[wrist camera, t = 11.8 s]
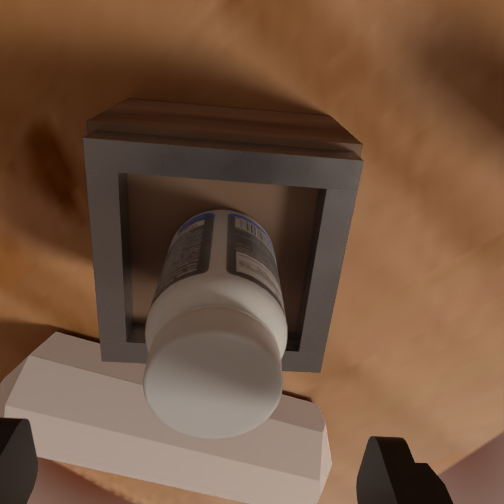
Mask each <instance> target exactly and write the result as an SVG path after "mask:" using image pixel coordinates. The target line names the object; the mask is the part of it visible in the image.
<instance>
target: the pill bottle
mask: <svg viewBox="0 0 504 504" xmlns="http://www.w3.org/2000/svg"><path fill="white" fill-rule="evenodd" d="M145 339H146V345H147V349H148V352H149V355H148V359H147V363H146V367H145V371H144V377H143V390H144V395H145V399H146V401H147V404H148V405H149V407H150V409H151V410H152V412H153V413H154V414H155V415H156V417H158V418H159V419H160V420H161V421H162V422H163V423H164V424H165V425H167V426H169V427H171V428H172V429H174V430H176V431H178V432H181V433H184V434H187V435H190V436H194V437H199V438H207V439H218V438H227V437H232V436H236V435H239V434H242V433H245V432H248V431H250V430H252V429H254V428H256V427H257V426H259V425H260V424H262V423H263V422H264V421H266V420H267V419H268V418H269V417H270V415H271V414H272V413H273V411H274V410H275V409H276V407H277V405H278V403H279V401H280V398H281V395H282V389H283V377H282V366H281V359H282V357H283V355H284V352H285V348H286V344H287V320H286V316H285V310H284V304H283V298H282V293H281V287H280V281H279V275H278V270H277V264H276V258H275V253H274V249H273V245H272V242H271V240H270V238H269V236H268V234H267V233H266V231H265V230H264V229H263V228H262V226H261V225H260V224H258V223H257V222H256V221H255V220H254V219H252V218H250V217H249V216H247V215H244V214H242V213H239V212H235V211H230V210H212V211H206V212H203V213H200V214H198V215H195V216H193V217H192V218H190V219H189V220H188V221H186V222H185V223H184V224H183V225H182V226H181V227H180V228H179V230H178V231H177V232H176V234H175V236H174V238H173V240H172V242H171V245H170V248H169V251H168V254H167V257H166V260H165V263H164V266H163V269H162V273H161V276H160V279H159V282H158V286H157V288H156V292H155V295H154V298H153V300H152V303H151V307H150V309H149V313H148V316H147V321H146V328H145Z"/></svg>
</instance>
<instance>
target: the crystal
mask: <svg viewBox="0 0 504 504" xmlns="http://www.w3.org/2000/svg"><path fill="white" fill-rule="evenodd" d="M38 357H39V358H38ZM42 358H43V359H42ZM46 359H47V360H46ZM50 360H51V361H50ZM53 361H54V362H53ZM57 362H58V363H57ZM61 363H62V364H61ZM65 364H66V365H65ZM69 365H70V366H69ZM72 366H73V367H72ZM76 367H77V368H76ZM145 367H146V364H141V363H122V362H102V361H101V349H100V344H99V343H95V342H92V341H88V340H85V339H81V338H77V337H74V336H70V335H66V334H63V333H59V332H55V333H54V334H53V335H51V336H50V337H49V338H48V339H47V340H46V341H44V342H43V343H42V344H41V345H40V346H39V347H38V348H36V349H35V350H34V351H33V352H32V353H31V354H29V356H28V357H26V358H25V359H24V360H23V361H22V362H21V363H20V364H19V365H18V366H17V367H16V368H15V369H14V370H13V371H11V372H10V373H9V374H8V375H7V376H6V377H5V378H4V379H3V380H2V382H1V383H0V417H3V418H24V419H28V420H29V422H30V425H31V430H32V435H33V440H34V445H35V450H36V455H37V457H42V458H46V459H51V460H55V461H60V462H64V463H69V464H73V465H77V466H82V467H86V468H91V469H95V470H100V471H104V472H109V473H113V474H118V475H122V476H127V477H131V478H136V479H140V480H145V481H149V482H154V483H158V484H163V485H167V486H172V487H176V488H181V489H185V490H190V491H194V492H199V493H203V494H208V495H212V496H216V497H221V498H225V499H230V500H234V501H239V502H243V503H248V504H317V502H318V500H319V498H320V496H321V494H322V491H323V488H324V485H325V483H326V480H327V477H328V474H329V471H330V469H331V466H332V461H331V454H330V448H329V442H328V436H327V430H326V424H325V421H324V418H323V416H322V413H321V411H320V408H319V406H318V404H316V403H312V402H309V401H305V400H301V399H298V398H294V397H290V396H287V395H283V394H282V395H281V398H280V401H279V403H278V405H277V407H276V409H275V410H274V411H273V413H272V414H271V415H270V417H269V418H270V419H269V418H268V419H267V420H266V421H264V422H263V423H262V424H260V425H259V426H257V427H256V428H254V429H252V430H250V431H248V432H245V433H242V434H239V435H236V436H232V437H227V438H218V439H207V438H199V437H194V436H190V435H187V434H184V433H181V432H178V431H176V430H174V429H172V428H171V427H169V426H167V425H165V424H164V423H163V422H162V421H161V420H160V419H159V418H158V417H156V415H155V414H154V413H153V412H152V410H151V409H150V407H149V405H148V404H147V401H146V399H145V395H144V390H143V377H144V371H145ZM80 368H81V369H80ZM84 369H85V370H84ZM91 371H92V372H91ZM95 372H96V373H95ZM99 373H100V374H99ZM106 375H107V376H106ZM110 376H111V377H110ZM114 377H115V378H114ZM118 378H119V379H118ZM125 380H126V381H125ZM129 381H130V382H129ZM133 382H134V383H133ZM284 422H285V423H284Z"/></svg>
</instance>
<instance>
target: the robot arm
mask: <svg viewBox="0 0 504 504" xmlns="http://www.w3.org/2000/svg"><path fill="white" fill-rule="evenodd" d="M37 471H38V460H37V455H36V450H35V445H34V440H33V435H32V430H31V425H30V422H29V420H28V419H24V418H3V417H0V504H27V501H28V499H29V497H30V495H31V493H32V490H33V488H34V485H35V481H36V477H37ZM356 489H357V500H358V504H453V502H452V500H451V497H450V495H449V493H448V491H447V489H446V486H445V484H444V483H443V482H442V481H441V479H440V478H439V477H438V476H437V475H436V473H435V472H434V471H433V470H432V469H431V467H430V466H429V465H428V464H427V463H415V462H414V459H413V457H412V454H411V452H410V449H409V447H408V445H407V443H406V441H405V440H404V439H403V438H399V437H378V436H371V437H370V438H369V440H368V443H367V446H366V450H365V453H364V456H363V460H362V463H361V466H360V469H359V473H358V476H357V486H356Z"/></svg>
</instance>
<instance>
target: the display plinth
mask: <svg viewBox="0 0 504 504" xmlns="http://www.w3.org/2000/svg"><path fill="white" fill-rule="evenodd" d="M87 132H88V135H86V136H85V137H83V148H84V160H85V171H86V183H87V195H88V207H89V219H90V231H91V242H92V254H93V266H94V278H95V290H96V302H97V313H98V325H99V337H100V349H101V361H102V362H122V363H141V364H146V363H147V359H148V355H149V352H148V349H147V345H146V339H145V328H146V321H147V316H148V313H149V309H150V307H151V303H152V300H153V298H154V295H155V292H156V288H157V286H158V282H159V279H160V276H161V273H162V269H163V266H164V263H165V260H166V257H167V254H168V251H169V248H170V245H171V242H172V240H173V238H174V236H175V234H176V232H177V231H178V230H179V228H180V227H181V226H182V225H183V224H184V223H185V222H186V221H188V220H189V219H190V218H192V217H193V216H195V215H198V214H200V213H203V212H206V211H212V210H230V211H235V212H239V213H242V214H244V215H247V216H249V217H250V218H252V219H254V220H255V221H256V222H257V223H258V224H260V225H261V226H262V228H263V229H264V230H265V231H266V233H267V234H268V236H269V238H270V240H271V242H272V245H273V249H274V253H275V258H276V264H277V270H278V275H279V281H280V287H281V293H282V298H283V304H284V310H285V316H286V320H287V344H286V348H285V352H284V355H283V357H282V359H281V366H282V371H296V372H316V373H320V371H321V366H322V361H323V357H324V352H325V347H326V342H327V337H328V332H329V327H330V322H331V317H332V313H333V308H334V303H335V298H336V293H337V288H338V283H339V278H340V273H341V268H342V264H343V259H344V254H345V249H346V244H347V239H348V234H349V229H350V224H351V220H352V215H353V210H354V205H355V200H356V195H357V190H358V185H359V180H360V175H361V171H362V166H363V160H362V159H361V158H360V156H361V151H362V146H363V144H362V143H360V142H359V141H358V140H357V139H356V138H355V137H354V136H353V135H351V134H350V133H349V132H348V131H347V130H346V129H345V128H344V127H342V126H341V125H340V124H339V123H338V122H337V121H336V120H335V119H333V118H332V117H331V116H324V115H313V114H301V113H290V112H278V111H267V110H256V109H244V108H233V107H222V106H210V105H199V104H188V103H176V102H165V101H153V100H142V99H131V98H128V99H126V100H124V101H122V102H121V103H119V104H117V105H115V106H113V107H112V108H110V109H108V110H106V111H104V112H103V113H101V114H99V115H97V116H95V117H94V118H92V119H90V120H88V121H87Z"/></svg>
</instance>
